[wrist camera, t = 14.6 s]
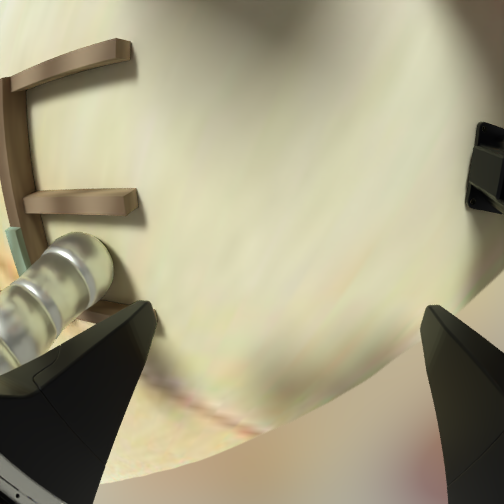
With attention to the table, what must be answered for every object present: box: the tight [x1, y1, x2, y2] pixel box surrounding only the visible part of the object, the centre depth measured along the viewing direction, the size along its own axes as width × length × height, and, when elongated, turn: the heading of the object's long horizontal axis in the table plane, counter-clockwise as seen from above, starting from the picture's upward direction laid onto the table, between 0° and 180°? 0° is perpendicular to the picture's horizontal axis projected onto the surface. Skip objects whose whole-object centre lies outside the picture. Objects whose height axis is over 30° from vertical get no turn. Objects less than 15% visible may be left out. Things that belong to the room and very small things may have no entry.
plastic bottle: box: [0, 232, 114, 375], centre depth 17 cm, size 6×7×20 cm
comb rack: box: [0, 38, 157, 324], centre depth 22 cm, size 14×24×4 cm, turn 179°
